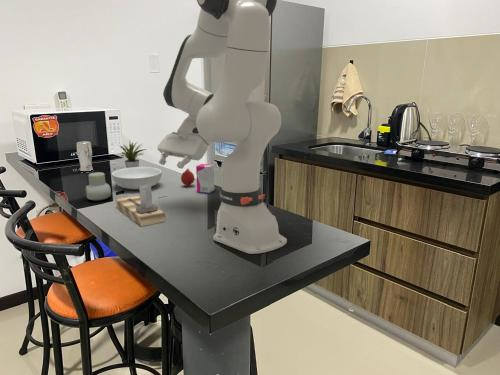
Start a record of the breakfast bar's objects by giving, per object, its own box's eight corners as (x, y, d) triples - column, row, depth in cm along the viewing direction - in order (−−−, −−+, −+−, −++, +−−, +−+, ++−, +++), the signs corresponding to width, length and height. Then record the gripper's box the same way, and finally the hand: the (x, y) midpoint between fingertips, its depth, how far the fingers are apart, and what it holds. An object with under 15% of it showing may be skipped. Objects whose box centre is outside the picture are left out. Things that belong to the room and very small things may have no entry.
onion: (192, 188, 164) (191, 170, 162) (179, 187, 165) (178, 169, 163) (196, 185, 170) (195, 167, 167) (184, 184, 171) (183, 166, 169)
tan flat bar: (165, 221, 125) (164, 212, 124) (141, 226, 120) (141, 217, 119) (137, 203, 143) (137, 195, 142) (116, 207, 139) (115, 199, 138)
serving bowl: (106, 193, 156) (104, 177, 154) (121, 181, 176) (120, 166, 174) (157, 193, 156) (156, 177, 155) (166, 181, 177) (165, 166, 175)
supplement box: (215, 190, 161) (214, 164, 158) (209, 194, 156) (208, 166, 153) (202, 189, 163) (201, 163, 160) (196, 192, 157) (195, 165, 154)
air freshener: (112, 200, 146) (110, 175, 144) (89, 203, 142) (86, 178, 140) (107, 193, 155) (105, 170, 153) (85, 196, 152) (83, 172, 149)
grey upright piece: (157, 209, 125) (156, 186, 123) (140, 213, 122) (138, 189, 120) (153, 206, 129) (151, 183, 126) (135, 210, 125) (134, 186, 123)
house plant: (130, 177, 182) (128, 144, 177) (110, 174, 188) (107, 141, 184) (152, 172, 194) (150, 140, 189) (132, 169, 200) (130, 138, 196)
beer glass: (80, 170, 197) (76, 141, 193) (94, 169, 199) (91, 140, 195) (78, 173, 191) (75, 143, 187) (93, 172, 193) (90, 142, 189)
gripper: (165, 126, 139) (145, 156, 134) (205, 130, 127) (184, 164, 122) (175, 137, 143) (156, 166, 139) (215, 142, 131) (195, 175, 126)
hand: (170, 165), depth 130 cm, fingers open, 8 cm apart
